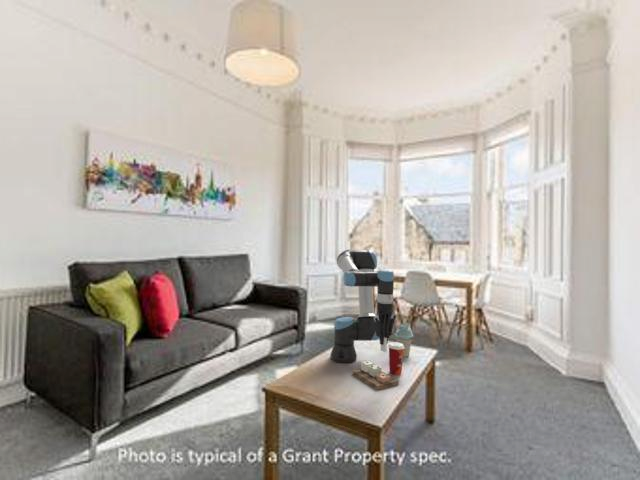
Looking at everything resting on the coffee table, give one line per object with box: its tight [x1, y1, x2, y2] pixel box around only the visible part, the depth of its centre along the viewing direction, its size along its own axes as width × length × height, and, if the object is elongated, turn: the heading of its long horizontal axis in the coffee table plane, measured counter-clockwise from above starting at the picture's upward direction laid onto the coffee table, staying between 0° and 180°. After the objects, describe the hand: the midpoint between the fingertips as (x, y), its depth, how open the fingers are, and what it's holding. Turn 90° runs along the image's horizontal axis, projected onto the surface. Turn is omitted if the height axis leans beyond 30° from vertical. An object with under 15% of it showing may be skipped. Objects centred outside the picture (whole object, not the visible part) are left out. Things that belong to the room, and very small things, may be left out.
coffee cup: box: [388, 341, 404, 376], centre depth 183 cm, size 8×8×15 cm
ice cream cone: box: [394, 322, 414, 358], centre depth 210 cm, size 10×11×20 cm
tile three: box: [376, 372, 391, 383], centre depth 169 cm, size 4×4×4 cm
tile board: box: [352, 368, 400, 391], centre depth 174 cm, size 20×13×2 cm, turn 30°
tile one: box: [360, 360, 375, 374], centre depth 180 cm, size 4×4×4 cm
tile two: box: [368, 364, 382, 378], centre depth 174 cm, size 4×4×4 cm
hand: (383, 350), depth 169 cm, fingers closed
